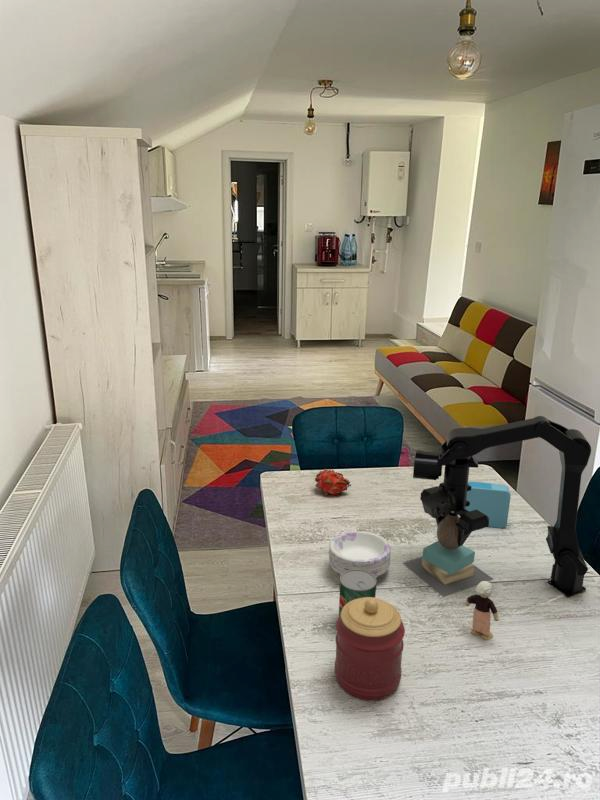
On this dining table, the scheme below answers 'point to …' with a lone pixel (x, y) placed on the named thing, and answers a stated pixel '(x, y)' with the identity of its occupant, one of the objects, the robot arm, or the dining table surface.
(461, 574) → the beech block
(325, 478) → the dragon fruit
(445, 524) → the vase
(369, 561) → the paper bowls
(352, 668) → the canister
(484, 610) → the grandmother figurine
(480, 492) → the light blue flat block
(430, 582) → the charcoal mat
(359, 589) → the canned tomato
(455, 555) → the teal block
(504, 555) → the dining table surface
